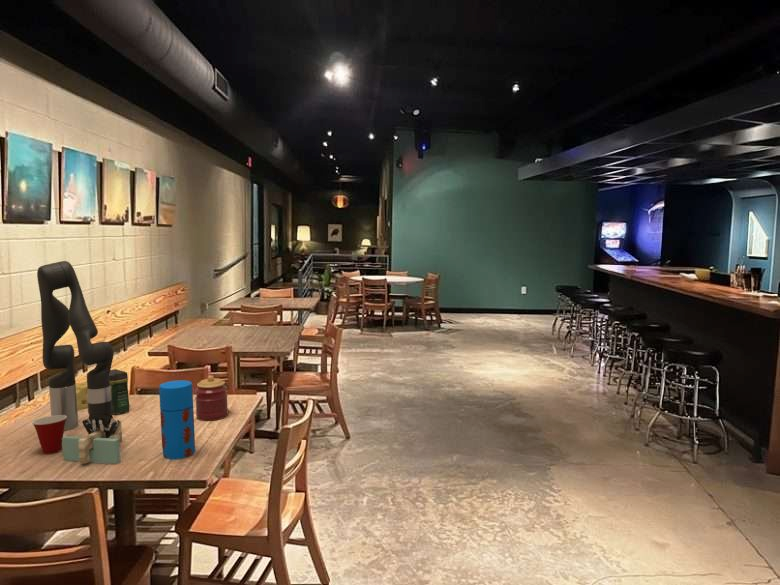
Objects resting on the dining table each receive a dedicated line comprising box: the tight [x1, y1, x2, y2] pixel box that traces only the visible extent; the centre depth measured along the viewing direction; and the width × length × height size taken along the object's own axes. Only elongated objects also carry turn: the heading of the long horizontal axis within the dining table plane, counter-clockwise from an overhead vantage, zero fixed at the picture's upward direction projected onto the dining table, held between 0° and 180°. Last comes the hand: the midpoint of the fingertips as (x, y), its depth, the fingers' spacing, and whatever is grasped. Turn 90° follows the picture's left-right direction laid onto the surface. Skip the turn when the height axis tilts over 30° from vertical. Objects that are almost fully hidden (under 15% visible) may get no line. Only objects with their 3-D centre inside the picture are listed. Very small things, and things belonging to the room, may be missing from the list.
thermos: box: [158, 379, 196, 460], centre depth 199 cm, size 11×11×25 cm
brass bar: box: [78, 420, 123, 465], centre depth 199 cm, size 20×2×8 cm, turn 171°
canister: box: [194, 374, 229, 422], centre depth 240 cm, size 13×13×18 cm
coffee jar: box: [109, 368, 130, 415], centre depth 246 cm, size 10×8×19 cm
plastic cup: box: [31, 415, 67, 455], centre depth 203 cm, size 11×11×12 cm
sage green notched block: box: [62, 435, 121, 465], centre depth 194 cm, size 20×2×8 cm, turn 81°
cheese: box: [76, 381, 88, 411], centre depth 256 cm, size 10×11×10 cm
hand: (102, 447), depth 200 cm, fingers closed on brass bar, 2 cm apart
